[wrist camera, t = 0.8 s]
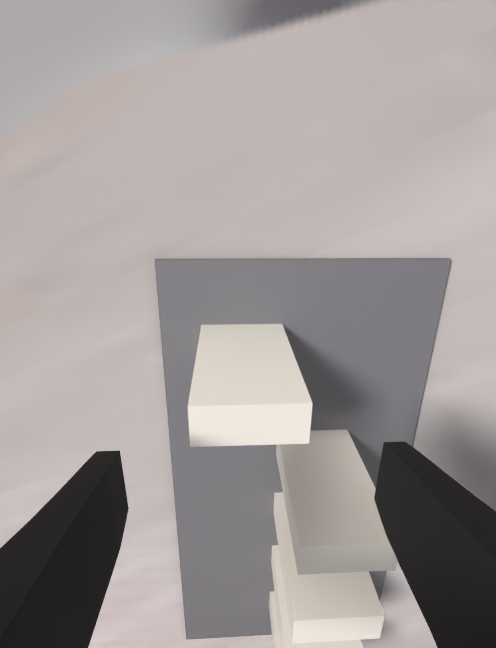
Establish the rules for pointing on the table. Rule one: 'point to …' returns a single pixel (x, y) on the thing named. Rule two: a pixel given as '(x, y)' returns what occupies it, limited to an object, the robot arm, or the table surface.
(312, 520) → the domino
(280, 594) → the domino
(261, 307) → the runner mat
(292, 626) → the domino
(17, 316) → the table surface
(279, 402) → the domino
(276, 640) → the domino
